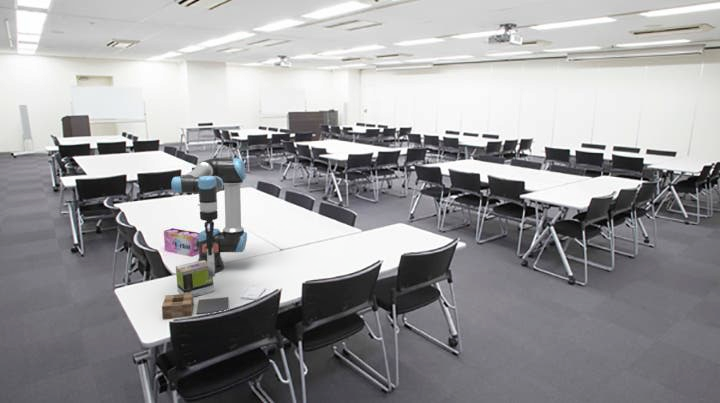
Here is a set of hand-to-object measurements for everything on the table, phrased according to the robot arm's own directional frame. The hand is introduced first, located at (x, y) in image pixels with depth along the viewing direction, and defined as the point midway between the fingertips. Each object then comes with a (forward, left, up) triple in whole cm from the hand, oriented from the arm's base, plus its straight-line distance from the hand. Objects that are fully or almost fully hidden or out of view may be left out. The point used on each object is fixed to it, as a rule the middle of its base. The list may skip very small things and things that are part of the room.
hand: (210, 258), depth 197 cm
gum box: (-82, -21, -25) cm, 89 cm away
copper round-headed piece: (0, 0, -9) cm, 9 cm away
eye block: (+2, -15, -24) cm, 29 cm away
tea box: (-18, -9, -25) cm, 32 cm away
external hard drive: (-9, +19, -25) cm, 33 cm away
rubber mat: (0, 0, -24) cm, 24 cm away
